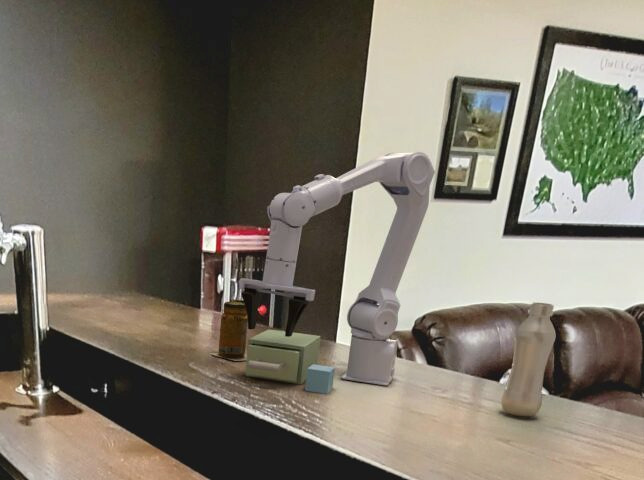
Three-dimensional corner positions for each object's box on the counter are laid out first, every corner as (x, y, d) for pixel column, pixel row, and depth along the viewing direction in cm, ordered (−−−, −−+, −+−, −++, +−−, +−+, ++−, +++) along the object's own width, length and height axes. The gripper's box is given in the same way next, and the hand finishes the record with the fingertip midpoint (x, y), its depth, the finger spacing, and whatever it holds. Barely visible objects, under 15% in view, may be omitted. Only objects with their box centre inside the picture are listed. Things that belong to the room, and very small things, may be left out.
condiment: (232, 351, 169) (236, 300, 165) (258, 359, 163) (262, 305, 159) (209, 354, 165) (212, 301, 161) (234, 362, 159) (238, 307, 155)
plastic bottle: (542, 422, 127) (568, 308, 121) (502, 417, 128) (525, 304, 122) (533, 412, 133) (558, 303, 127) (495, 408, 134) (517, 300, 128)
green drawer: (287, 387, 137) (291, 357, 135) (236, 379, 140) (238, 350, 138) (310, 369, 152) (313, 342, 150) (263, 362, 156) (266, 336, 154)
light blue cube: (332, 389, 141) (335, 367, 140) (327, 394, 137) (330, 371, 136) (310, 385, 143) (312, 364, 141) (304, 390, 139) (307, 368, 137)
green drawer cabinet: (300, 384, 143) (304, 346, 141) (245, 376, 147) (248, 339, 145) (316, 371, 155) (320, 336, 153) (265, 363, 159) (268, 329, 157)
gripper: (237, 254, 134) (227, 327, 139) (311, 266, 129) (298, 341, 133) (251, 255, 140) (241, 324, 145) (322, 265, 135) (310, 337, 139)
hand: (269, 332), depth 139 cm, fingers open, 7 cm apart
